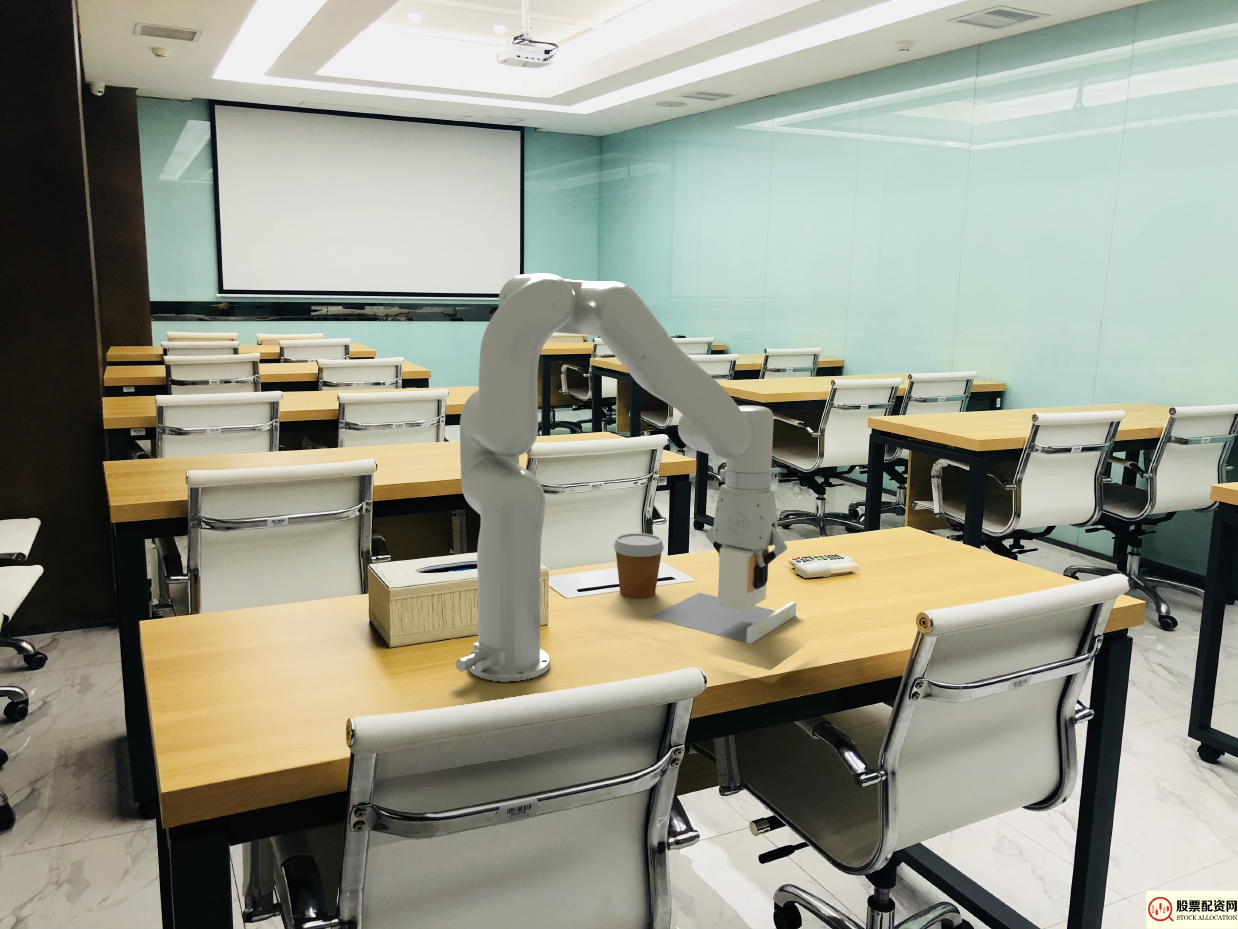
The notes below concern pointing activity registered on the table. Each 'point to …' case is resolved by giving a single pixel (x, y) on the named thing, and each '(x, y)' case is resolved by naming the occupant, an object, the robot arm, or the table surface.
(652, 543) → the disposable coffee cup
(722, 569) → the carton
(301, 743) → the table surface
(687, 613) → the shelf board
